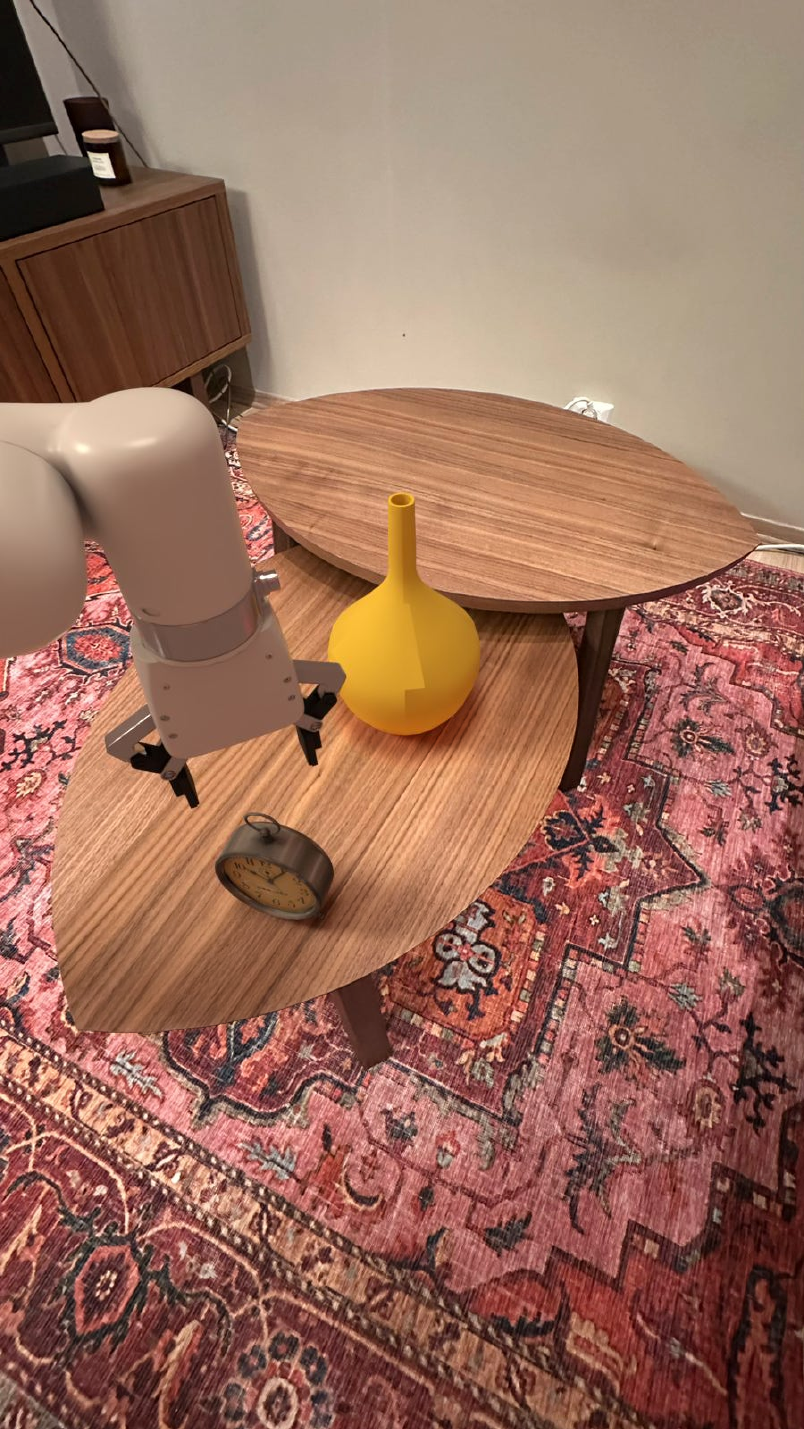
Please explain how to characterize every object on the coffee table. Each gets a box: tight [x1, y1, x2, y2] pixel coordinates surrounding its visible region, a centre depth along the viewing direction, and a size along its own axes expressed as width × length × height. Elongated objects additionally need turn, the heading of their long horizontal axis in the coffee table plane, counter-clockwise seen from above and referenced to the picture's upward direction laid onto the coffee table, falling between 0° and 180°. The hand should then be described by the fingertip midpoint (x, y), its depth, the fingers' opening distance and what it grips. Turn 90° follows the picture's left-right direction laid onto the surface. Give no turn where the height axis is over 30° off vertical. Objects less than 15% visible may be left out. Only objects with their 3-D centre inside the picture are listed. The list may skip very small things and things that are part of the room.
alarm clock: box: [214, 811, 335, 922], centre depth 65 cm, size 11×5×16 cm, turn 73°
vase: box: [327, 492, 482, 736], centre depth 78 cm, size 18×18×30 cm
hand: (251, 773), depth 55 cm, fingers open, 9 cm apart
